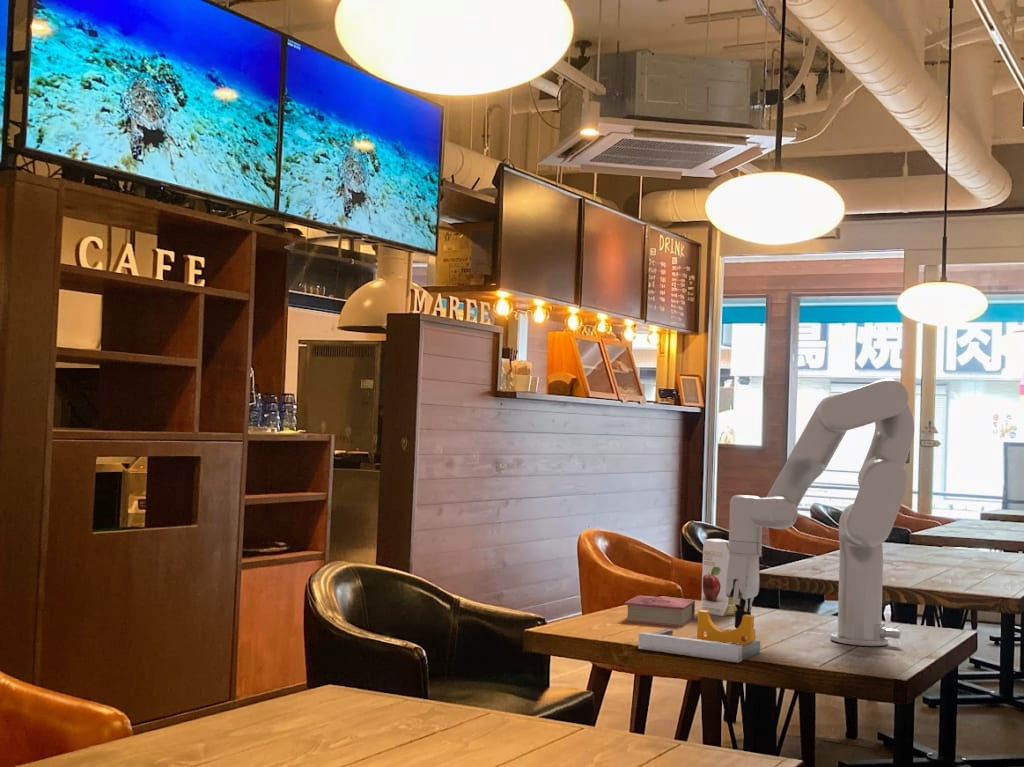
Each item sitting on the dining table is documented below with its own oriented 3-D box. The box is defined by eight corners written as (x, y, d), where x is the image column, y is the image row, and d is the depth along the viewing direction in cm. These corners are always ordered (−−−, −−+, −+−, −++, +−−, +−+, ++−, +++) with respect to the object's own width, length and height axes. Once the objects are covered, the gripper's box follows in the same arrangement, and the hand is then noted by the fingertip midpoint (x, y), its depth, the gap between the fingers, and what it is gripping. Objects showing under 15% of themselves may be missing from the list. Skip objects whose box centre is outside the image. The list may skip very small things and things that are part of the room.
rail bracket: (761, 652, 243) (761, 637, 243) (738, 662, 231) (738, 646, 231) (665, 639, 254) (665, 625, 254) (638, 648, 242) (638, 633, 242)
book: (694, 619, 288) (695, 599, 288) (683, 628, 273) (683, 607, 274) (638, 614, 292) (639, 594, 293) (624, 623, 278) (625, 602, 278)
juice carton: (716, 610, 302) (718, 538, 303) (741, 615, 296) (744, 541, 296) (697, 612, 297) (699, 538, 298) (722, 617, 291) (724, 541, 292)
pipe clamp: (754, 643, 255) (755, 614, 256) (750, 646, 251) (751, 616, 252) (702, 637, 260) (703, 608, 261) (697, 640, 256) (698, 611, 257)
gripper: (741, 545, 274) (738, 622, 273) (717, 549, 262) (715, 630, 261) (771, 548, 270) (769, 626, 270) (749, 552, 258) (746, 634, 257)
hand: (742, 628), depth 265 cm, fingers closed
